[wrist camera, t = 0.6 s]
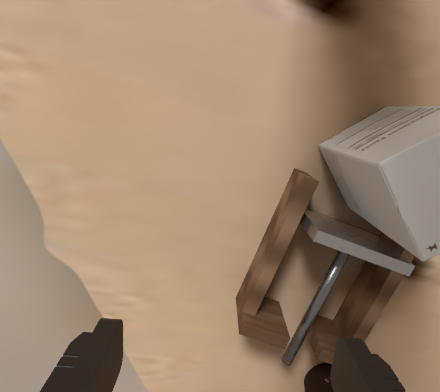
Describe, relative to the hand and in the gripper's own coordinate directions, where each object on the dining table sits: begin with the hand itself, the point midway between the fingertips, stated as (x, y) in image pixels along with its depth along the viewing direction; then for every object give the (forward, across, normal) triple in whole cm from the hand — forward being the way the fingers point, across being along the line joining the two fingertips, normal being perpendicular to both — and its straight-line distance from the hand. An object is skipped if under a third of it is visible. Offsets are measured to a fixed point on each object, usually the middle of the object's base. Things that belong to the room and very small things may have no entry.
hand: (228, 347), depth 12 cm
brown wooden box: (+27, -13, +8) cm, 31 cm away
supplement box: (+28, -16, -4) cm, 32 cm away
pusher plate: (+27, -12, +13) cm, 32 cm away
